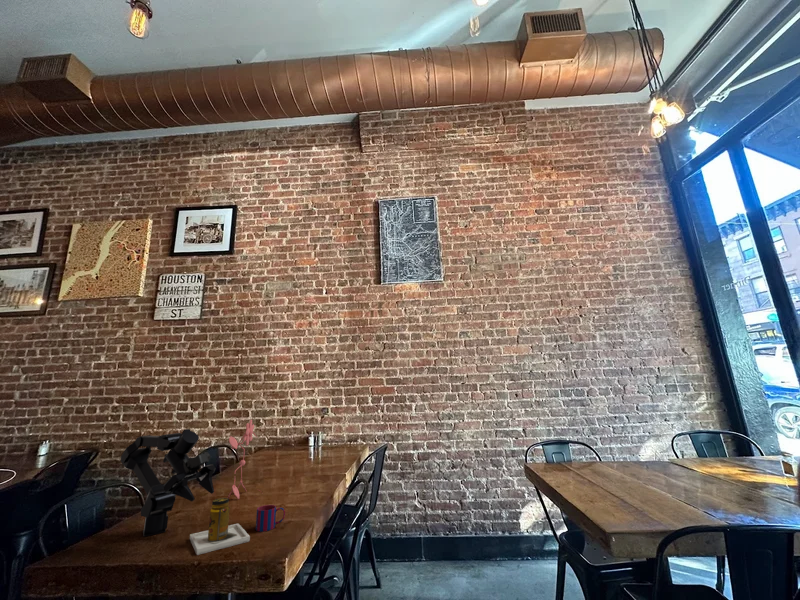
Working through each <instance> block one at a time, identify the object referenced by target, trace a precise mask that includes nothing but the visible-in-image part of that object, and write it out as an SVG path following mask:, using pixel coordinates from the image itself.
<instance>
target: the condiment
mask: <svg viewBox="0 0 800 600" xmlns="http://www.w3.org/2000/svg"><path fill="white" fill-rule="evenodd" d="M211 504H212V505H211V509H210V510H209V511H210V512H209V521H208V523H209V524H208V538H206V539H202V540H204V541H207V542H210V543H214V544H215V543H218V542H221V541H224V540H226V539H228V538H230V537H233V536H235V535H237V534H234V533H230V532H228V526H229V520H230V509H231V508H230V506H229V505H230V499H229V498H228V497H220V498H216V499H214V500H212V502H211Z"/></svg>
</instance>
